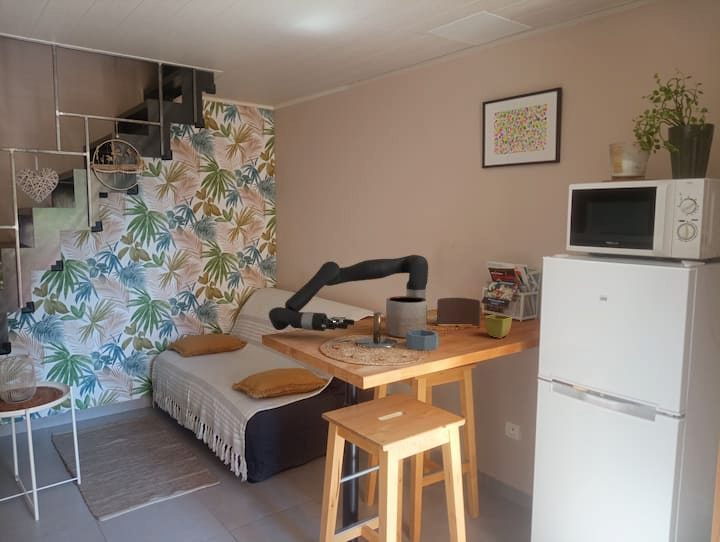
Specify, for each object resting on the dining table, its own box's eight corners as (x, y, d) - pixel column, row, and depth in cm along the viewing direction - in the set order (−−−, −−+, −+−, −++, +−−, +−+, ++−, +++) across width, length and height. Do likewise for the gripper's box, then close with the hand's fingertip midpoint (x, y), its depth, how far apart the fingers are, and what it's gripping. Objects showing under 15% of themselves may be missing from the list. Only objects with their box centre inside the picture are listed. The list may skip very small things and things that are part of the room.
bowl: (427, 341, 227) (428, 328, 226) (443, 348, 215) (443, 335, 215) (401, 344, 222) (401, 331, 221) (416, 351, 211) (416, 337, 210)
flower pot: (512, 337, 237) (513, 316, 236) (502, 340, 230) (503, 319, 229) (493, 334, 243) (494, 314, 242) (483, 337, 236) (484, 316, 235)
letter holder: (479, 328, 254) (480, 298, 253) (436, 326, 258) (437, 297, 256) (479, 324, 264) (479, 295, 262) (437, 322, 268) (438, 294, 266)
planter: (402, 340, 228) (402, 303, 226) (377, 332, 243) (378, 297, 241) (434, 335, 238) (435, 300, 236) (408, 328, 253) (409, 294, 251)
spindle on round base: (386, 337, 234) (387, 308, 233) (404, 347, 218) (405, 315, 217) (349, 340, 228) (350, 310, 226) (365, 350, 212) (366, 317, 211)
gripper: (307, 315, 223) (345, 318, 218) (320, 309, 237) (356, 312, 232) (307, 333, 224) (345, 336, 219) (320, 326, 237) (355, 329, 233)
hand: (350, 324), depth 225 cm, fingers open, 8 cm apart
